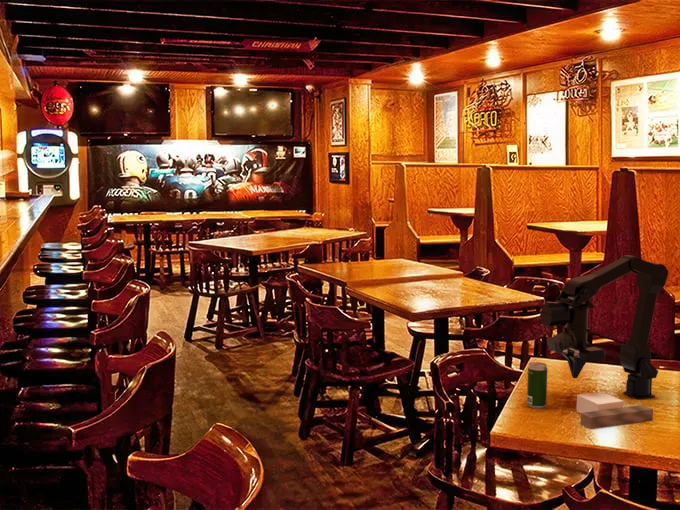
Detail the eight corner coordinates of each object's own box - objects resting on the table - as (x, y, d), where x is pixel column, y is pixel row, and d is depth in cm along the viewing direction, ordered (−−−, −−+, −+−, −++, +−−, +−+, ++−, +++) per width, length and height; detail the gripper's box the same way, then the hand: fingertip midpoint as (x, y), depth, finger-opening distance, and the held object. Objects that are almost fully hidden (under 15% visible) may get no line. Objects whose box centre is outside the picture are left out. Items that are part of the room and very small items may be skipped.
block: (600, 409, 215) (601, 391, 214) (622, 419, 206) (623, 401, 206) (576, 412, 212) (577, 394, 211) (597, 422, 203) (598, 404, 203)
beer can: (537, 410, 213) (538, 367, 212) (522, 405, 217) (523, 363, 216) (550, 406, 216) (551, 365, 215) (535, 401, 220) (537, 361, 219)
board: (642, 415, 208) (642, 404, 208) (652, 420, 204) (653, 409, 204) (580, 424, 202) (580, 412, 201) (590, 428, 198) (590, 417, 197)
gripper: (533, 319, 223) (531, 372, 225) (573, 333, 206) (571, 389, 207) (565, 317, 227) (563, 368, 229) (607, 329, 209) (605, 385, 211)
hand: (574, 377), depth 219 cm, fingers closed
